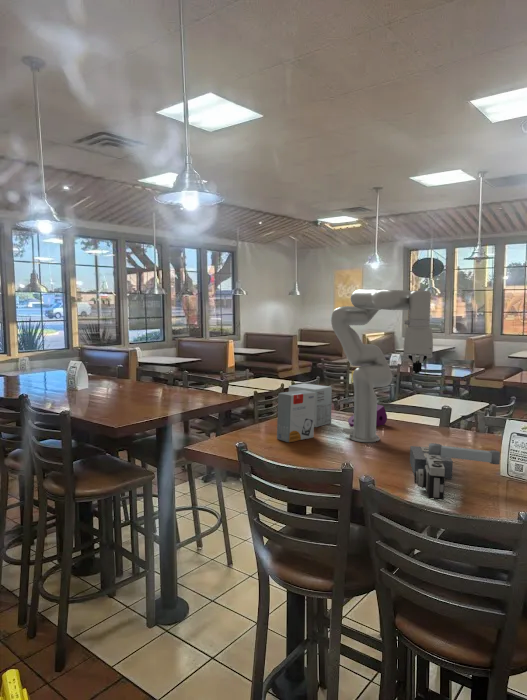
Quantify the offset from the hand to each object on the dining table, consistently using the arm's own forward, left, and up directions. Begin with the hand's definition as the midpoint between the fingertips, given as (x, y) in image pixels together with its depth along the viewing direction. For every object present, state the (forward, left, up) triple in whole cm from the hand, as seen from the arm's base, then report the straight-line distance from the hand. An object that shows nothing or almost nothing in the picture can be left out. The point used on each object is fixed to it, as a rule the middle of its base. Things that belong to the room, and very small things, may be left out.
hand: (416, 373), depth 187 cm
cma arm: (+12, -26, -24) cm, 38 cm away
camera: (+1, -35, -32) cm, 48 cm away
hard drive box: (-47, +16, -32) cm, 59 cm away
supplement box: (-44, +47, -32) cm, 72 cm away
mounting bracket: (-17, +49, -33) cm, 61 cm away
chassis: (+4, -16, -32) cm, 36 cm away
